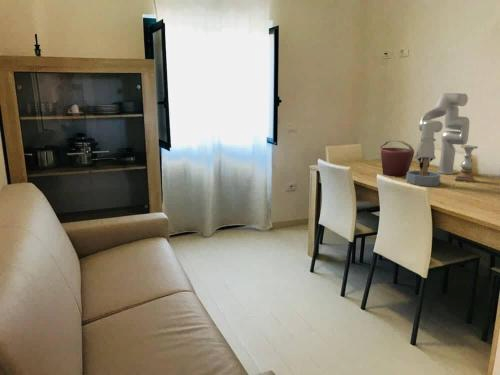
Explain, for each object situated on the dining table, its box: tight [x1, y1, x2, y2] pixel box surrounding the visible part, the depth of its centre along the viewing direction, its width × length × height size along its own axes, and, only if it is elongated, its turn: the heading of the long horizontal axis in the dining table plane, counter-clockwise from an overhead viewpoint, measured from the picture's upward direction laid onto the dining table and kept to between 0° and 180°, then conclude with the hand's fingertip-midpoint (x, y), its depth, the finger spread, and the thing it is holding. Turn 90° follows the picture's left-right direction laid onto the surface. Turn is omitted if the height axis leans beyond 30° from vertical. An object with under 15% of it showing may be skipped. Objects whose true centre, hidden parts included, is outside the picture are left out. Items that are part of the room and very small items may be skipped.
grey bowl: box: [405, 169, 441, 187], centre depth 261 cm, size 20×20×6 cm
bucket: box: [380, 140, 415, 178], centre depth 286 cm, size 24×22×25 cm
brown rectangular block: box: [419, 158, 430, 176], centre depth 259 cm, size 6×3×12 cm, turn 174°
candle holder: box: [454, 144, 478, 183], centre depth 267 cm, size 11×11×24 cm
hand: (423, 167), depth 259 cm, fingers closed on brown rectangular block, 3 cm apart
